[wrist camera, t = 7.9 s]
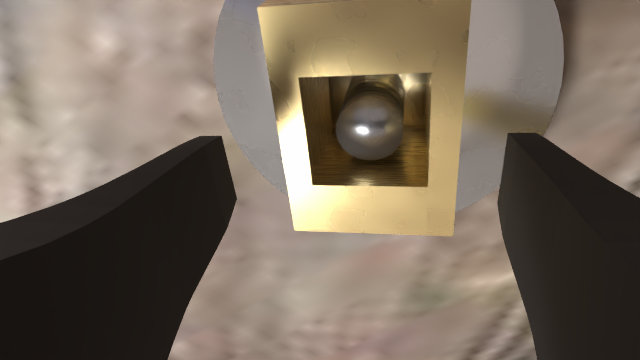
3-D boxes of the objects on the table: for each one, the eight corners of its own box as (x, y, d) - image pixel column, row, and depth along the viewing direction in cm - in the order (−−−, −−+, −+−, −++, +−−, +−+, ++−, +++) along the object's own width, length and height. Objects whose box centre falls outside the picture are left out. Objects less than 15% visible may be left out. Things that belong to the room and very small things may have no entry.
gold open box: (316, 167, 18) (294, 230, 15) (293, -22, 14) (256, 7, 11) (445, 167, 17) (453, 236, 14) (457, -35, 13) (472, -8, 10)
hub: (206, 161, 20) (165, 215, 17) (252, -167, 13) (198, -184, 10) (459, 244, 20) (468, 315, 17) (639, -38, 13) (713, -12, 10)
